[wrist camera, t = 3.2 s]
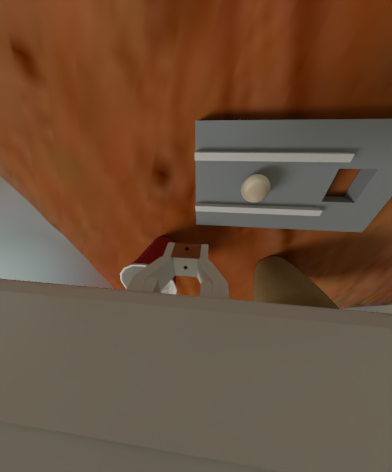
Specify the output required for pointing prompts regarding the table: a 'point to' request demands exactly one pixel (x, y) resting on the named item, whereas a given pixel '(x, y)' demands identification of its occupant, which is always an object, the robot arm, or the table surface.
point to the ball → (255, 188)
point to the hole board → (292, 172)
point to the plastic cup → (147, 258)
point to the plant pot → (286, 285)
